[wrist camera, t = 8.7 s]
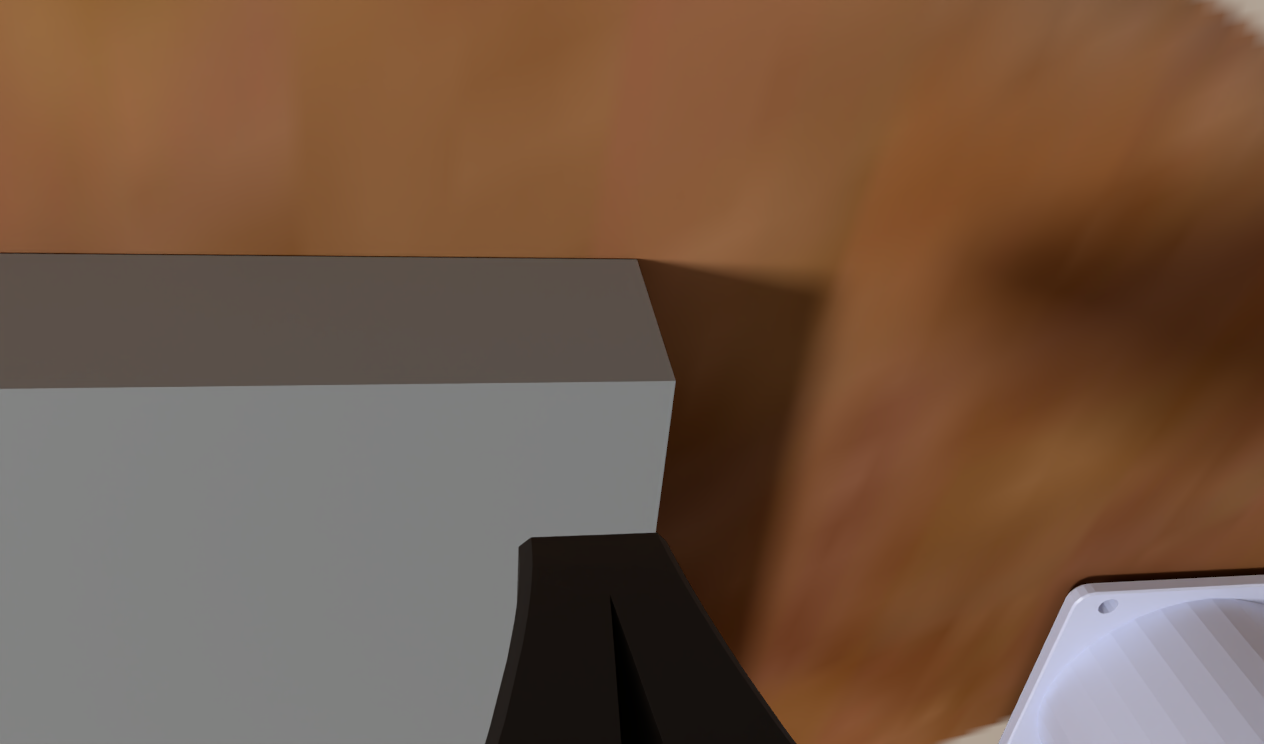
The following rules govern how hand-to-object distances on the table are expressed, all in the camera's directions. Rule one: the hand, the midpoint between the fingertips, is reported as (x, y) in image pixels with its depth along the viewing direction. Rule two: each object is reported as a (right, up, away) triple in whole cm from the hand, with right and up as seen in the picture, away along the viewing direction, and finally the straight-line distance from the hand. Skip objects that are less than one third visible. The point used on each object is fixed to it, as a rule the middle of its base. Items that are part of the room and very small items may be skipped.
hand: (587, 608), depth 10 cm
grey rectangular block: (-6, -1, +11) cm, 13 cm away
